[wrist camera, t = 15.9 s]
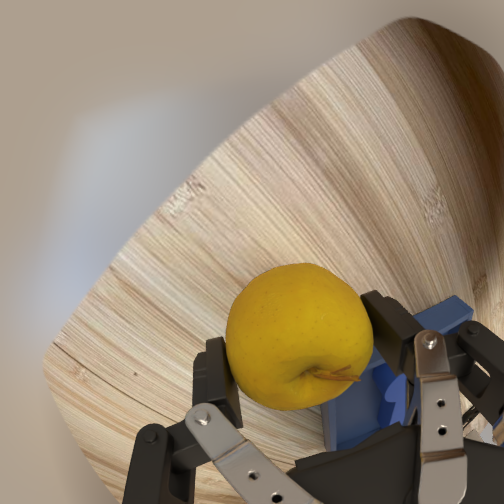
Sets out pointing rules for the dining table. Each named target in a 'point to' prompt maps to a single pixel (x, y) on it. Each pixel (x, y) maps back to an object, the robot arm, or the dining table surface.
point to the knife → (469, 416)
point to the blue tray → (366, 391)
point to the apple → (297, 337)
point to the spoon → (390, 395)
